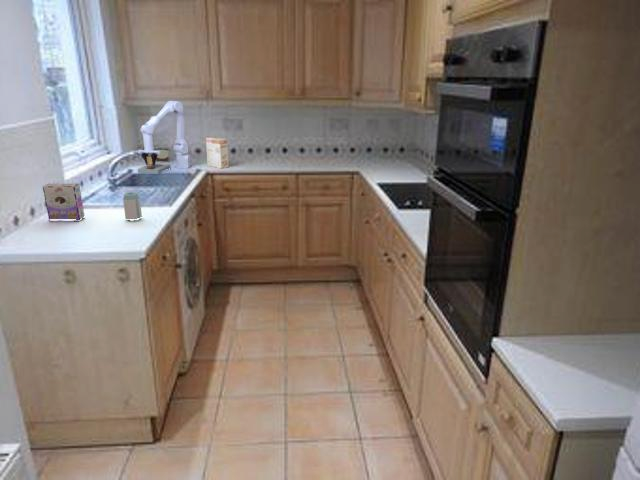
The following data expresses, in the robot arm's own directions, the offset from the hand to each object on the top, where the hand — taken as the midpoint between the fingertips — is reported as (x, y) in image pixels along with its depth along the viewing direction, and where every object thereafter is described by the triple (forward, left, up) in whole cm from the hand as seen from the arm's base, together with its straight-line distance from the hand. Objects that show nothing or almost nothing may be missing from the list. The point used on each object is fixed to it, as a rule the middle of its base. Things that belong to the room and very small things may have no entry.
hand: (150, 164), depth 317 cm
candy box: (-12, +104, -5) cm, 105 cm away
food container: (+9, -38, -5) cm, 39 cm away
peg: (0, 0, -3) cm, 3 cm away
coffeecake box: (-36, -27, -5) cm, 45 cm away
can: (-41, +98, -5) cm, 107 cm away
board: (0, -5, -5) cm, 7 cm away
